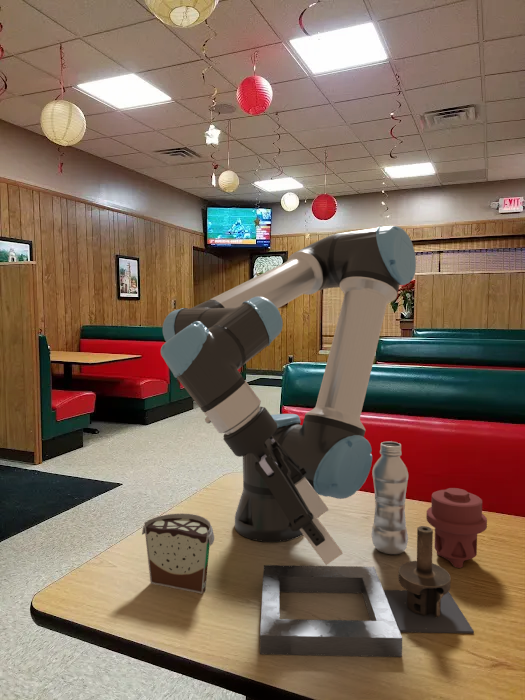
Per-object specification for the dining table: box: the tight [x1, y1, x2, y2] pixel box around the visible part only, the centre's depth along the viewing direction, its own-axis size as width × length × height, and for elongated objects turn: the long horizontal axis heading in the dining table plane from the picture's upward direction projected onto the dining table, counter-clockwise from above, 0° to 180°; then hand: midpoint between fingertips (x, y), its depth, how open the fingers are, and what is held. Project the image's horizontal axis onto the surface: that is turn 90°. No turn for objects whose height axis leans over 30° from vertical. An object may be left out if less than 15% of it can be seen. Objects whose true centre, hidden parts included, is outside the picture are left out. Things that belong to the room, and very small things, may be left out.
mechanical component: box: [426, 487, 488, 569], centre depth 87 cm, size 12×10×10 cm
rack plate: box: [259, 564, 403, 658], centre depth 71 cm, size 18×18×2 cm
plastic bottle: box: [371, 441, 409, 555], centre depth 90 cm, size 6×7×20 cm
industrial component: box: [398, 525, 451, 618], centre depth 71 cm, size 9×7×12 cm
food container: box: [141, 513, 215, 595], centre depth 81 cm, size 12×6×10 cm, turn 71°
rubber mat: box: [383, 589, 475, 634], centre depth 72 cm, size 10×10×1 cm
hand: (327, 534), depth 72 cm, fingers open, 13 cm apart
